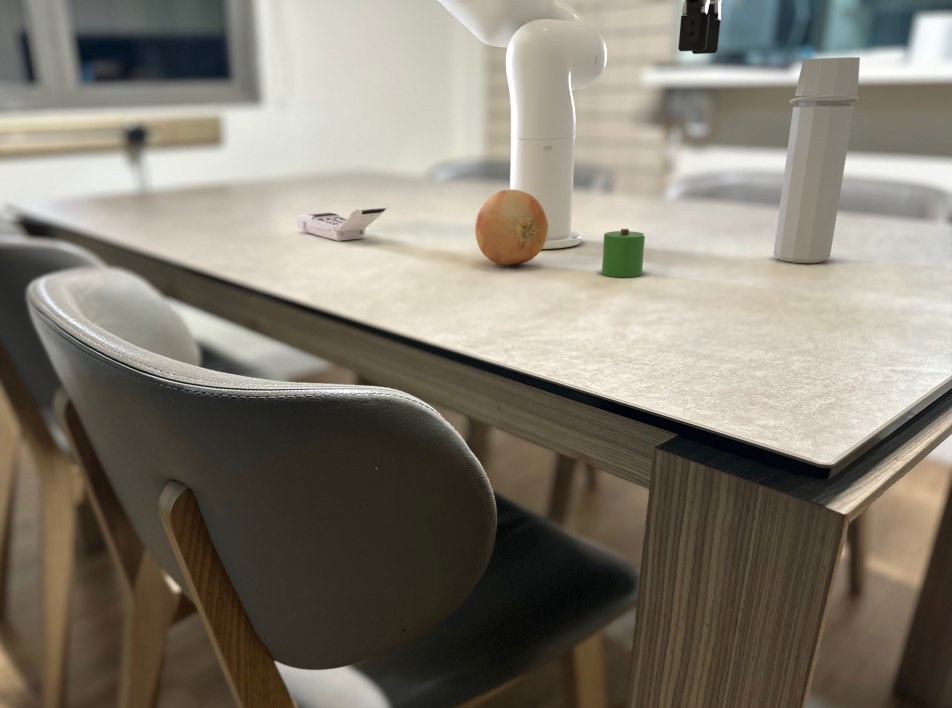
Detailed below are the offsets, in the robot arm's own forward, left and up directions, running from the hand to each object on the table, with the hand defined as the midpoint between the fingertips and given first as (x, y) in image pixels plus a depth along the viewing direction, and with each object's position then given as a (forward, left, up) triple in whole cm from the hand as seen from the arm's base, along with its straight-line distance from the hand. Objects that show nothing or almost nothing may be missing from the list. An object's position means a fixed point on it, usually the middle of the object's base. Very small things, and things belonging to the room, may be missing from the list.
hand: (698, 52), depth 103 cm
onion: (-20, -13, -26) cm, 36 cm away
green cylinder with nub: (-5, -13, -26) cm, 30 cm away
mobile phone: (-56, 0, -26) cm, 62 cm away
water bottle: (+15, +5, -26) cm, 31 cm away
